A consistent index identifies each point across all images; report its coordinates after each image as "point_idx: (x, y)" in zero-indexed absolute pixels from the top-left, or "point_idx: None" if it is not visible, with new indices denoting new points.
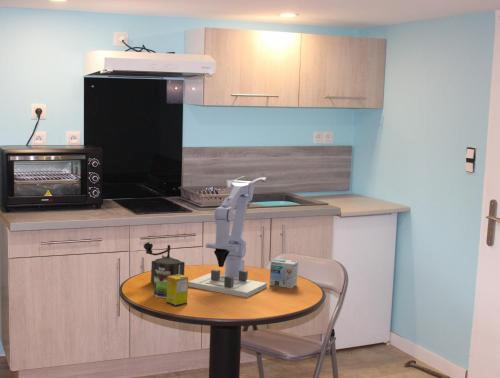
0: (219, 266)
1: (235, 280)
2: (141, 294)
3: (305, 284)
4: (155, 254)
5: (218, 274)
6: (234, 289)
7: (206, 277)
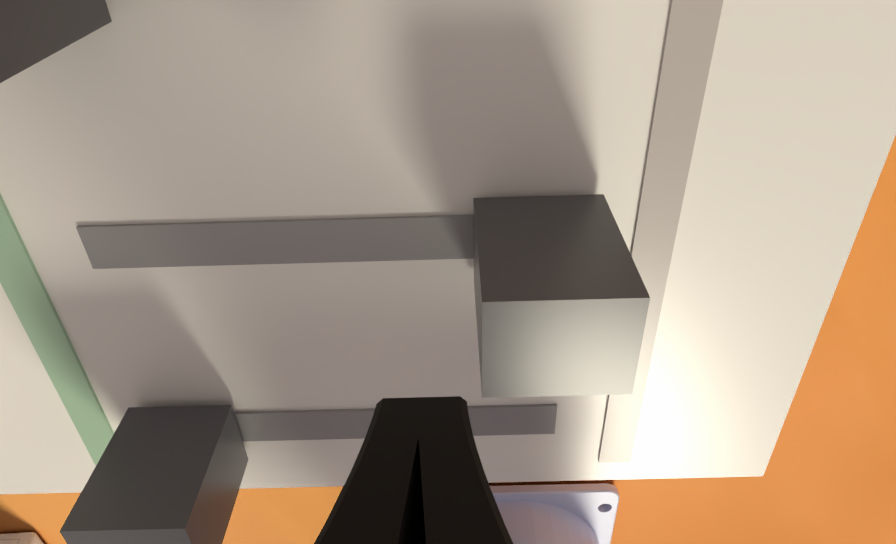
0: (436, 402)
1: (276, 387)
2: None
3: None
4: None
5: (478, 300)
6: None
7: (735, 282)
